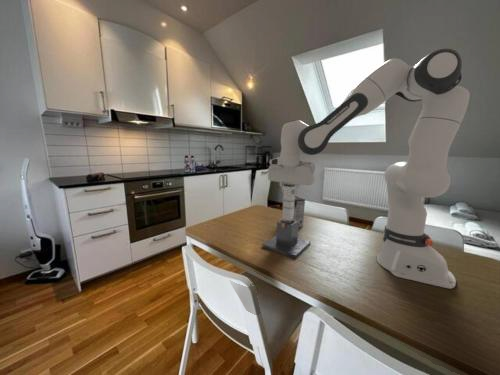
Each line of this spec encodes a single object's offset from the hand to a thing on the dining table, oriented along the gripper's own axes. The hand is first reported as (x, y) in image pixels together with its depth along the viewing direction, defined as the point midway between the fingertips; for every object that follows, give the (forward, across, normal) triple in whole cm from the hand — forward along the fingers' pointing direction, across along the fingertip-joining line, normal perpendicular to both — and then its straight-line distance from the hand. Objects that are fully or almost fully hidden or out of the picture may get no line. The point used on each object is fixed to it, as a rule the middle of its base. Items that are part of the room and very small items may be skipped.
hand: (289, 193), depth 88 cm
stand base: (+24, 0, 0) cm, 24 cm away
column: (+19, 0, 0) cm, 19 cm away
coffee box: (+25, +9, -27) cm, 38 cm away
